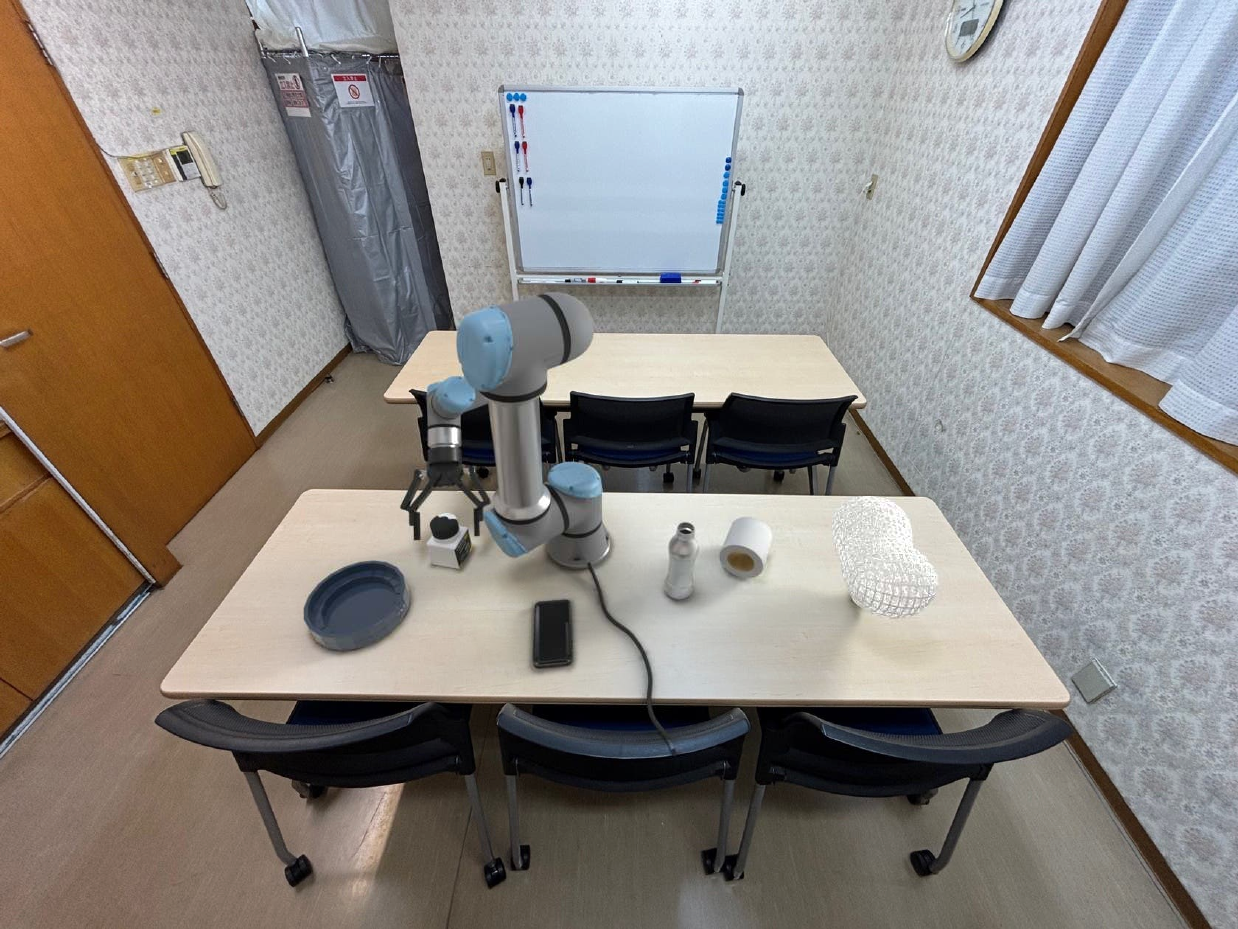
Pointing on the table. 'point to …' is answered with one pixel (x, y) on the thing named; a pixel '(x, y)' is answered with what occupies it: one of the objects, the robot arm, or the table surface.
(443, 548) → the medicine bottle
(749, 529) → the toilet paper
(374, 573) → the bowl
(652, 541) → the table surface
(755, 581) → the table surface
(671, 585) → the plastic bottle
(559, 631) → the phone
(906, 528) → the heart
